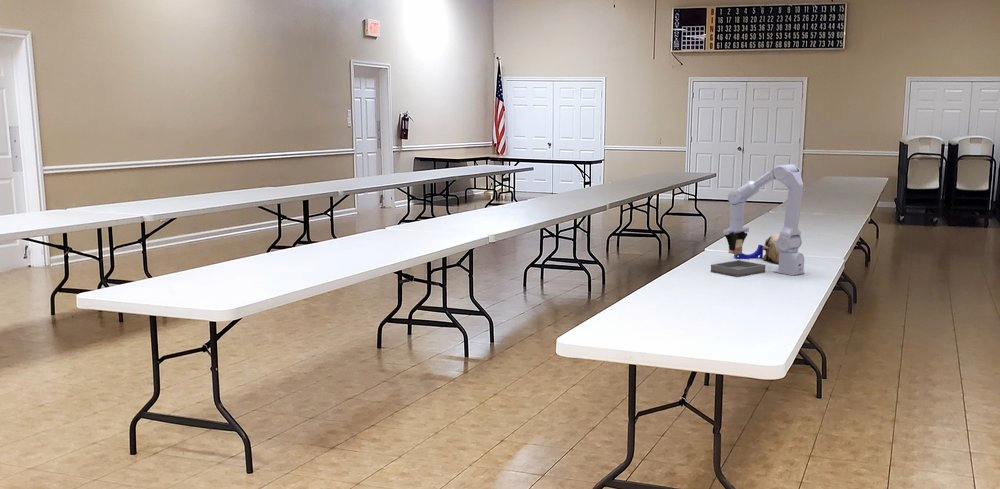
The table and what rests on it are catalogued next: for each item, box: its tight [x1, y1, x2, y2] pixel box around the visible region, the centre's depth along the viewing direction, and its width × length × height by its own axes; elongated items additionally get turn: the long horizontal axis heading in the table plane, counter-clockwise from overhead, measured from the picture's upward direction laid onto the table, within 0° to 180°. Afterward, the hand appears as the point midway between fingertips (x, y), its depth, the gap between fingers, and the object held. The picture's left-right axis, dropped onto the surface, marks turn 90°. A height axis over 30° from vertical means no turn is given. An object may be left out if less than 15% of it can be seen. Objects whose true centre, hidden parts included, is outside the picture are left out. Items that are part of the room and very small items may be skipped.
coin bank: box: [762, 232, 780, 264], centre depth 369 cm, size 16×17×13 cm
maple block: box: [727, 239, 743, 255], centre depth 362 cm, size 4×4×6 cm
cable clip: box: [733, 244, 764, 260], centre depth 377 cm, size 12×4×6 cm, turn 85°
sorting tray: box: [710, 259, 767, 278], centre depth 345 cm, size 14×18×3 cm
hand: (735, 249), depth 362 cm, fingers closed on maple block, 4 cm apart
